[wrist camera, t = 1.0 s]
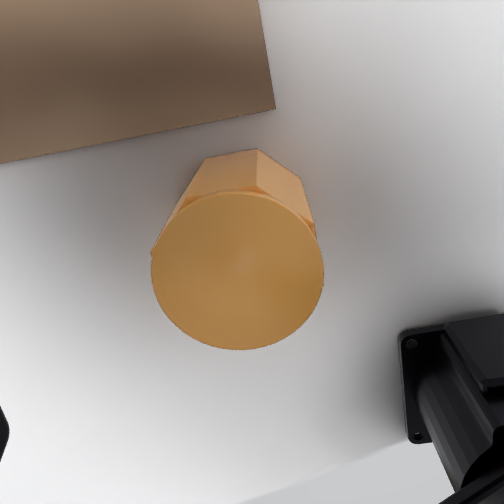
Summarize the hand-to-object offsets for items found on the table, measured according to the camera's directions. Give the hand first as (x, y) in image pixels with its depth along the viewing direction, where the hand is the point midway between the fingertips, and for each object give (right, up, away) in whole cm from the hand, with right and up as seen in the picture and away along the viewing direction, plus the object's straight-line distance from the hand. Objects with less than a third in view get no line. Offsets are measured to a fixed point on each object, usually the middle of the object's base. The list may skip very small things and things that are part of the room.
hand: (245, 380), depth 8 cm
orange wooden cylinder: (0, +4, +11) cm, 12 cm away
